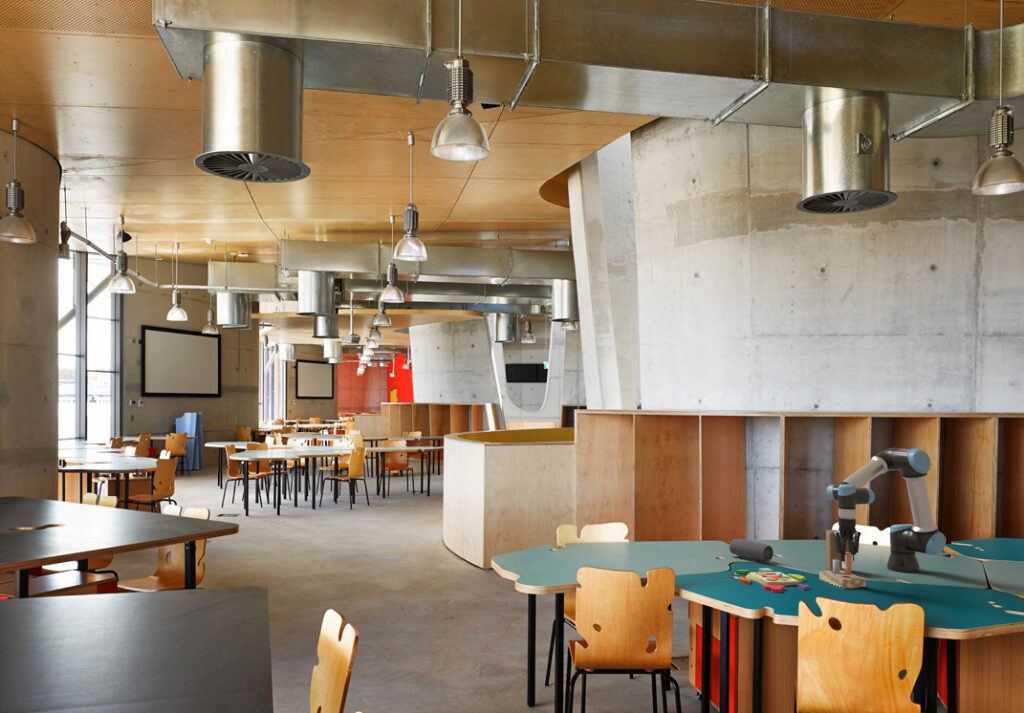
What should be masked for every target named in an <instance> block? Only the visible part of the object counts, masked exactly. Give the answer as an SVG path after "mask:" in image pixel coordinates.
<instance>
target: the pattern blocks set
mask: <svg viewBox="0 0 1024 713" xmlns="http://www.w3.org/2000/svg"><path fill="white" fill-rule="evenodd" d="M735 574H736V575H738V576H739V578H738V579H739V583H740V584H744V585H751V581H754V582H756V583H759V584H761V585H763V586H762V589H763V590H764V591H769V592H772V593H776V594H779V593H783V592H784V591H785V588H786V586H787V587H788V586H797V587H796V588H797V589H799V590H801V591H806V590H810V585H807V584H799V583H803V582H805V581H806V577H805V576H803V575H800V574H794V573H793V574H792V573H786V574H785V573H783V572H781V571H774V570H773V569H771V568H769V567H761V568H760V567H759V568H758V571H757V572H756V571H754V572H753V571H751V570H749V569H737V570H736V571H735ZM740 575H741V576H740ZM742 575H743V576H742ZM744 575H746V576H745V577H744Z"/></svg>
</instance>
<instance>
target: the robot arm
mask: <svg viewBox="0 0 1024 713" xmlns="http://www.w3.org/2000/svg"><path fill="white" fill-rule="evenodd" d="M931 465H932V461H931V458H930V456H929V454H928V453H927V452H926V451H924V450H923V449H919V448H918V449H917V448H914V447H913V448H907V447H890V448H887V449H885V450H882V451H880V452H878V453H877V454H875V455H874V456H872V457H871V458H870V461H869V462H867V463H866V464H865V465H863V466H862V467H860V468H859V469H857V470H856V471H855V472H853V473H852V474H851V475H850V476H848V477H846V479H844V480H842V481H840V483H838V484H830V485H828V486H827V488H826V496H827V497H828V499H830V500H831V501H832V500H833V501H836V502H837V503H838V504H837V505H838V509H837V510H838V513H837V514H838V519H837V520H838V529H837V530H838V531H836V532H833V534H834V536H835V543H836V551H837V552H838V553H840V554H841V561H842V568H844V569H847V555H845V552H846V542H847V539H848V545H849V552H850V553H851V570H853V569H854V561H855V556H856V554H858V553H859V550H860V549H859V548H860V547H859V546H860V537H861V535H862V532H861V531H858V530H857V529H856V526H857V525H856V524H857V520H856V518H857V510H856V509H857V508H856V505H869V504H872V503H873V502H874V501H875V498H876V497H875V492H874V491H873V490H872V489H871V488H869V487H864V486H866V485H867V484H869V483H870V482H871V481H873V480H874V479H875V478H876V477H879V475H882V474H886V473H887V472H890V471H898V472H900V474H901V478H903V479H904V480H905V482H906V488H907V493H908V499H909V504H910V509H911V510H910V511H911V515H912V519H913V524H911V523H909V524H908V523H903V524H892V525H891V526H890V528H889V529H890V530H889V544H890V548H889V550H890V551H889V552H890V554H889V556H888V560H887V563H886V568H887V569H888V570H891V571H893V572H899V573H911V574H912V573H913V574H914V573H919V572H920V570H921V569H920V564H919V561H918V559H917V555H916V553H921V554H926V555H930V556H938V555H940V554H941V553H942V552H943V551H944V548H945V547H946V544H947V543H946V542H947V540H946V535H945V534H944V533H942V532H941V531H939V527H938V525H936V524H935V523H934V520H933V514H932V508H931V504H930V499H929V498H930V497H929V493H928V488H927V482H926V479H925V478H926V477H927V476H928V472H929V471H930V470H931ZM840 534H841V539H840Z"/></svg>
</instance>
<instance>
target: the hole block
mask: <svg viewBox="0 0 1024 713" xmlns="http://www.w3.org/2000/svg"><path fill="white" fill-rule="evenodd" d="M818 577H819V580H820V581H823V582H825V583H827V582H828V583H827V584H829V585H832V584H833V586H835V585H836V586H835V587H837V586H839V587H838V588H840V587H842V588H843V589H859V588H858V587H866V581H867V580H866V578H864V577H861V576H858V575H855V574H853V573H851V575H845V574H844V571H842V570H840V574H833V571H829V570H820V571H819V576H818ZM842 588H841V589H842Z"/></svg>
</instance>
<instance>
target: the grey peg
mask: <svg viewBox="0 0 1024 713" xmlns="http://www.w3.org/2000/svg"><path fill="white" fill-rule="evenodd" d="M833 574H840V566H839V560H833Z"/></svg>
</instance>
